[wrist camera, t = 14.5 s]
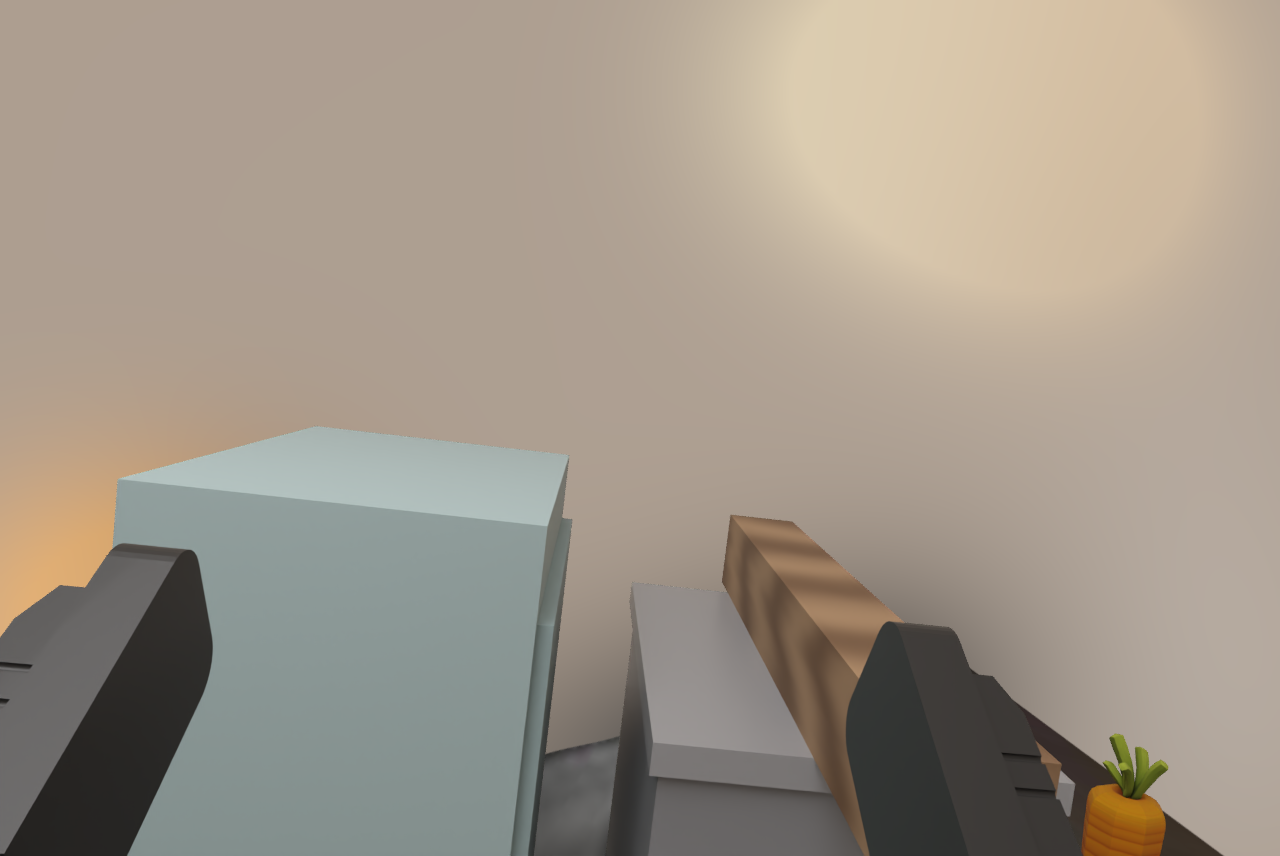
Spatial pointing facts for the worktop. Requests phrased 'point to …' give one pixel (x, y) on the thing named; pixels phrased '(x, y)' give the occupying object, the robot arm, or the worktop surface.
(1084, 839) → the carrot
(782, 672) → the walnut rail
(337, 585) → the teal cabinet
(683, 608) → the gray box
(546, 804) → the worktop surface
